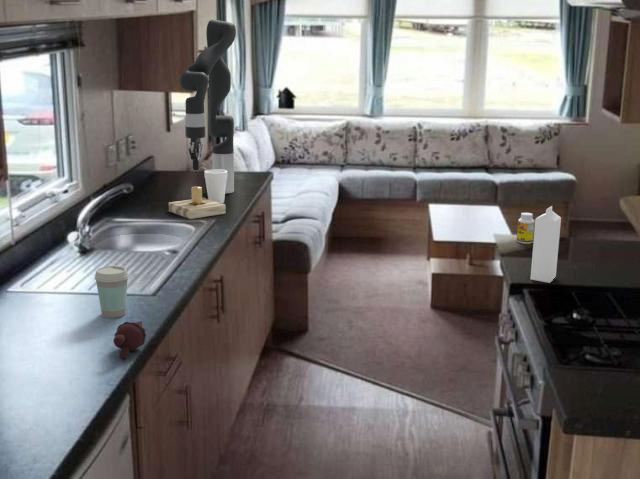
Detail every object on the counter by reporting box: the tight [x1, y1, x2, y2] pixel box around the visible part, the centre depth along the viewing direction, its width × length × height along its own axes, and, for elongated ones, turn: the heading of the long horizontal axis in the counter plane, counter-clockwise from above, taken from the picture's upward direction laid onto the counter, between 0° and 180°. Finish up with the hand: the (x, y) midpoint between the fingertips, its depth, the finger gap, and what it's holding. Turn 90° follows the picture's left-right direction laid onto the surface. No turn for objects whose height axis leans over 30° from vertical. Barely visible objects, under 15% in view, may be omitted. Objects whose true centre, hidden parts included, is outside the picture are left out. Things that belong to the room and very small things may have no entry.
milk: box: [529, 205, 562, 284], centre depth 250 cm, size 6×6×22 cm
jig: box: [168, 197, 227, 220], centre depth 329 cm, size 16×16×4 cm
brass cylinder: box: [190, 185, 203, 206], centre depth 328 cm, size 4×4×10 cm
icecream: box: [113, 321, 147, 361], centre depth 195 cm, size 7×7×15 cm
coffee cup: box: [94, 265, 130, 319], centre depth 216 cm, size 8×8×12 cm
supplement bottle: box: [516, 212, 535, 245], centre depth 293 cm, size 6×6×10 cm
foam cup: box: [204, 168, 227, 204], centre depth 346 cm, size 10×9×13 cm
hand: (196, 169), depth 325 cm, fingers closed
